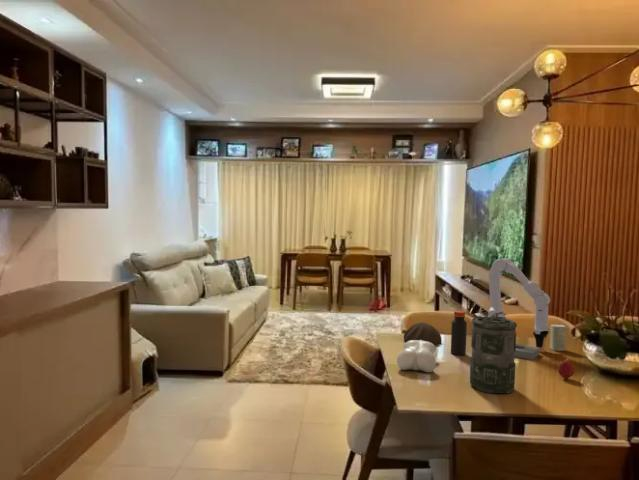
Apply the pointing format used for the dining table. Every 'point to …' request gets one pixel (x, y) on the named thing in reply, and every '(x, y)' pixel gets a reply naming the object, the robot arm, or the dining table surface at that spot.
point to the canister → (493, 354)
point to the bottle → (458, 334)
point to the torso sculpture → (417, 356)
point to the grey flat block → (526, 352)
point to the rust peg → (542, 346)
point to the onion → (566, 369)
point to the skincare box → (558, 337)
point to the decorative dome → (423, 333)
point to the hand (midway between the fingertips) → (540, 346)
